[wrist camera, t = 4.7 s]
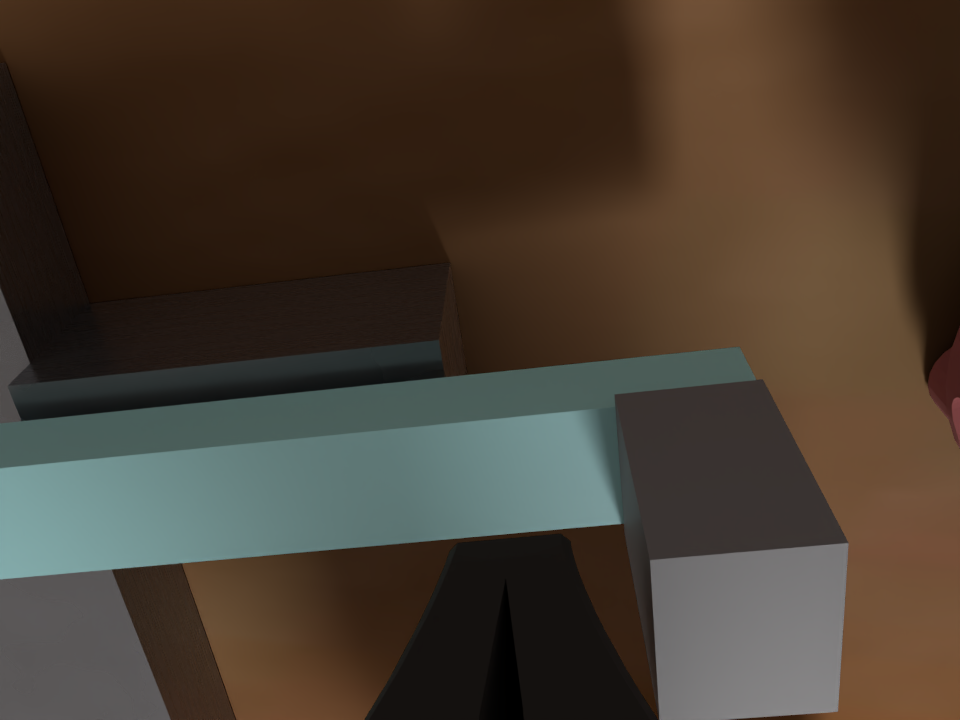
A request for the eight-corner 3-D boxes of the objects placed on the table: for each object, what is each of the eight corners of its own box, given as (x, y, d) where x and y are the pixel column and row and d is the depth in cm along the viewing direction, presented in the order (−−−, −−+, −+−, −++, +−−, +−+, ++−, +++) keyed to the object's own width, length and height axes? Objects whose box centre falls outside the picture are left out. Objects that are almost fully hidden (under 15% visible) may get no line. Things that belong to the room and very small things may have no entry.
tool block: (410, 6, 15) (387, 36, 12) (556, 951, 27) (562, 1082, 24) (-724, 162, 17) (-985, 220, 14) (-122, 987, 28) (-194, 1113, 26)
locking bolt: (739, 335, 14) (848, 543, 9) (739, 468, 15) (836, 711, 10) (-37, 416, 15) (-267, 639, 10) (16, 536, 16) (-170, 784, 11)
